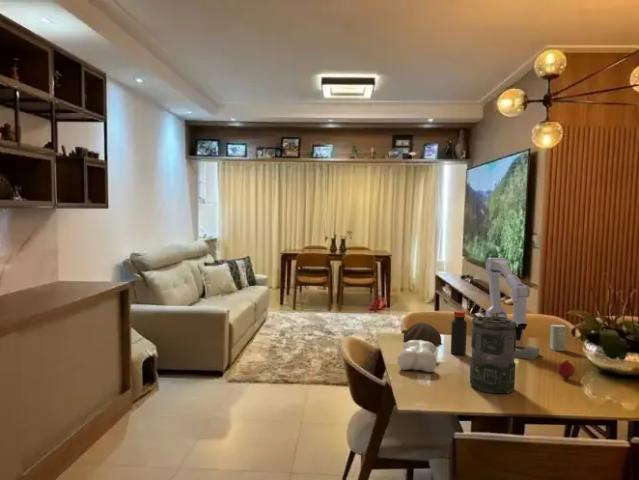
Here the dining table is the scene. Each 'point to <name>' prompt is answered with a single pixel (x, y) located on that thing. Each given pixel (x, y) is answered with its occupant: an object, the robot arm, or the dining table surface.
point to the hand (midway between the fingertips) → (518, 339)
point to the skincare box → (558, 337)
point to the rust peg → (521, 342)
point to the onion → (566, 369)
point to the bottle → (458, 334)
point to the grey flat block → (527, 352)
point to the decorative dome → (423, 333)
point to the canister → (493, 354)
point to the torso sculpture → (417, 356)
